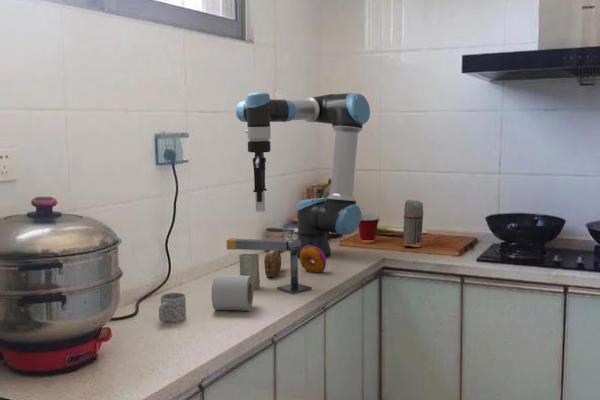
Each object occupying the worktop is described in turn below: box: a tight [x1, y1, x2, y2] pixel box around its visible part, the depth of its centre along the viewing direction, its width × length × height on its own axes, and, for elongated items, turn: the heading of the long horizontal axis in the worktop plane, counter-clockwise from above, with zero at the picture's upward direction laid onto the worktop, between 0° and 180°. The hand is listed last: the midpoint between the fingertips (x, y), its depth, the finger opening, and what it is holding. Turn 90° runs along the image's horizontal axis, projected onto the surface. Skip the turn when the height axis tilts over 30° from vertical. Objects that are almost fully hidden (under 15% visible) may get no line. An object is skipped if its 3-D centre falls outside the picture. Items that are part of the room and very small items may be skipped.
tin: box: [263, 250, 282, 278], centre depth 227 cm, size 15×3×8 cm, turn 168°
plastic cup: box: [358, 213, 381, 240], centre depth 283 cm, size 11×11×12 cm
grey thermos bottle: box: [402, 199, 424, 244], centre depth 273 cm, size 8×8×20 cm
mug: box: [158, 292, 187, 324], centre depth 176 cm, size 10×7×7 cm
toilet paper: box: [211, 274, 255, 312], centre depth 186 cm, size 10×10×10 cm
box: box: [238, 252, 261, 290], centre depth 209 cm, size 5×4×11 cm
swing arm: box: [226, 237, 301, 252], centre depth 207 cm, size 24×4×3 cm, turn 78°
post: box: [276, 251, 313, 295], centre depth 206 cm, size 8×8×12 cm
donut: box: [299, 245, 327, 273], centre depth 229 cm, size 8×9×10 cm
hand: (260, 210), depth 214 cm, fingers closed
